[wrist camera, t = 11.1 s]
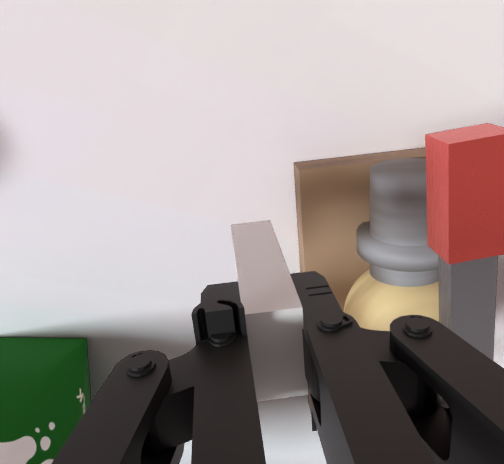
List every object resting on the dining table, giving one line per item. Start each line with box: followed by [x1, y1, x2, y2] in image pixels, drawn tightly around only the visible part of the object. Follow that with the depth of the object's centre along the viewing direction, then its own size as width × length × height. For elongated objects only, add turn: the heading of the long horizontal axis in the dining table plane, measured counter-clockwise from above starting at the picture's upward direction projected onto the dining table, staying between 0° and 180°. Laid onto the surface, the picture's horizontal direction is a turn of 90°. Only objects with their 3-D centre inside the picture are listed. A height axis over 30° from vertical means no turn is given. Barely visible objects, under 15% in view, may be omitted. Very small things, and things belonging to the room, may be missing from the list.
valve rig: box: [294, 148, 439, 410], centre depth 29 cm, size 20×12×10 cm, turn 5°
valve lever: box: [425, 123, 504, 361], centre depth 21 cm, size 15×3×2 cm, turn 9°
